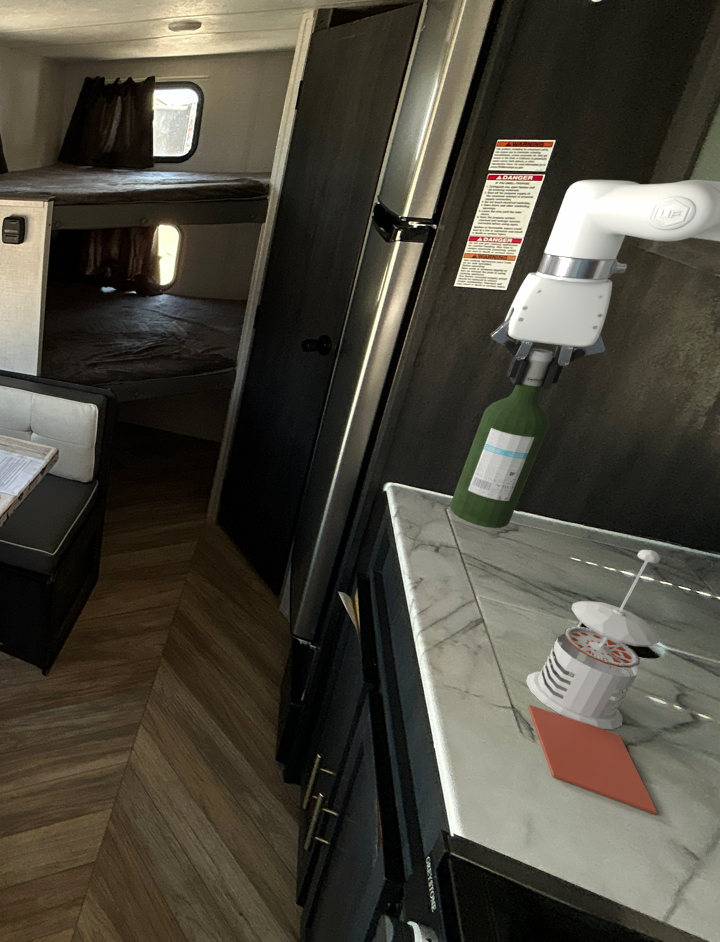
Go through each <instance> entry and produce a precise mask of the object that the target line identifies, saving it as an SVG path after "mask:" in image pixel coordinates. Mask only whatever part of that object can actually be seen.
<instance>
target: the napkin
mask: <svg viewBox="0 0 720 942" xmlns="http://www.w3.org/2000/svg"><path fill="white" fill-rule="evenodd" d="M528 709H529V713H530V716H531V719H532V722H533V724H534V727H535V731H536V733H537V736H538V738H539V739H538V740H539V741H540V744H541V748H542V750H543V753H544V756H545V759H546V762H547V764H548V767H549V770H550V774H551V777H553V778H555V779H558V780H561V781H563V782H566V783H569V784H571V785H574V786H577V787H579V788H582V789H585V790H588V791H590V792H594V793H595V794H599V795H601V796H604V797H606V798H609V799H612V800H615V801H617V802H620V803H623V804H626V805H629V806H632V807H634V808H637V809H639V810H642V811H645V812H646V813H647V812H648V813H650V814H653V815H657V814H658V811H657V809H656V807H655V804H654V802H653V801H652V798H651V797H650V795H649V792H648V790H647V788H646V786H645V784H644V782H643V779H642V778H641V776H640V774H639V771H638V770H637V768H636V766H635V763H634V761H633V760H632V757H631V755H630V753H629V752H628V749H627V747H626V745H625V743H624V741H623V738H622V736H621V735H620V734H619V733H615V732H612V731H610V730H608V729H601V728H598V727H595V726H592V725H589V724H586V723H583V722H580V721H577V720H574V719H571V718H568V717H565V716H563V715H560V714H559V713H556V712H553V711H550V710H547V709H543V708H540V707H537V706H534V705H532V704H528Z"/></svg>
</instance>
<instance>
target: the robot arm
mask: <svg viewBox="0 0 720 942" xmlns="http://www.w3.org/2000/svg"><path fill="white" fill-rule="evenodd" d="M563 197H564V198H563V200H562V203H561V205H560V208H559V211H558V213H557V216H556V218H555V219H556V220H555V222H554V224H553V227H552V230H551V233H550V235H549V239H548V240H547V244H546V246H545V249H544V252H543V255H542V257H541V259H540V263H539V265H538V268H537V271H536V272H528V274H527V275H526V277H525V279H524V280H523V282H522V283H521V285H520V287H519V289H518V291H517V293H516V294H515V297H514V299H513V301H512V303H511V305H510V308H509V310H508V312H507V315H506V317H505V319H504V321H503V322H502V323H501V324H500V325H499V326H497V328H495V329H494V330H493V331H492V332H491V333H490V335H489V336H490V338H491V339H492V341H494V342H496V343H497V344H500V345H502V346H503V347H505V348H506V350H508V351H509V352H510V354H511V355H512V356H513V357H512V359H511V362H510V365H509V368H508V370H507V375H506V376H507V378H509V380H510V383H512V385H515V386H516V385H518V384H520V383H521V381H522V378H523V375H524V373H525V370H526V367H527V365H528V361H527V356H528V353H529V352H530V351H531V349H532V346H533V344H534V343H540V344H548V345H555V350H554V353H553V358H552V360H551V361H550V363H549V366H548V369H547V372H546V375H545V378H544V380H543V383H542V386H541V388H543V389H544V390H549V391H550V389H551V387H552V384H557V383H558V381H559V379H560V376H561V373H562V371H563V368H564V367H565V366H567V365H569V364H570V363H572V362H574V361H576V360H578V359H580V358H582V357H584V356H592V355H596V354H601V353H603V352H606V351H605V350H606V347H605V343H604V341H603V337H602V334H601V333H602V329H603V327H604V324H605V320H606V318H607V313H608V310H609V305H610V302H611V296H612V291H613V281H612V280H611V279H608V278H611V276H612V275H613V274H624V273H625V272H626V270H627V267H628V264H627V263H621V262H618V259H617V256H618V254H619V251H620V249H621V247H622V244H623V242H624V239H625V237H626V236H629V237H633V238H639V239H643V240H649V241H655V242H677V241H683V240H687V239H690V238H691V239H698V240H699V239H700V240H707V241H714V242H720V181H719V180H718V181H716V180H707V179H705V180H704V179H688V180H681V181H677V182H666V183H665V182H664V183H647V184H642V183H641V184H640V183H639V182H636V181H632V180H631V181H630V180H619V179H617V180H615V179H583V180H578V181H576V182H574V183H572V184H571V185H569V187H568V189H567V190H566V192H565V194H564V196H563ZM507 335H508V336H509V337H510V338H509V337H508V336H507ZM513 339H514V340H516V342H515V341H514V340H513Z"/></svg>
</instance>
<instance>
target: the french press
mask: <svg viewBox="0 0 720 942" xmlns="http://www.w3.org/2000/svg"><path fill="white" fill-rule="evenodd" d="M636 557H638V558H639V559H640V560H642V561H644V562H643V563H642V566H641V568H639V569H640V570H639V571H638V573H637V575H636V577H635V578H634V581H633V582H632V584H631V586H630V588H629V590H628V592H627V594H626V596H625V598H624V600H623V601H622V603H621V605H620V607H619V606H615V605H612V604H609V603H606V602H600V601H592V600H591V601H590V600H589V601H587V600H580V601H576V602H573V603H572V604H571V610H572V613H573V614H574V615H575V617H576V618H577V620H578V621H579V623H578V624H577V626H570V627H568V628H566V629H565V631H564V633H563V634H561V635H560V636H558V637H557V638H556V640H555V642H554V646H552V648H551V650H550V652H549V654H548V656H547V660H546V661H545V662H544V664H543V666H542V668H541V670H540V671H535V672H531V673H529V674H528V675H527V677H526V680H525V683H526V684H527V686H528V688H529V691H530V692H531V693H532V694H533V695H534V696H535V697H536V698H537V699H538V700H539V701H540V702H541V703H542V704H543V705H545V706H546V707H548V708H549V709H551V710H552V711H554V712H555V713H556V714H558V715H562V716H565V717H568V718H571V719H574V720H577V721H580V722H583V723H586V724H589V725H592V726H595V727H598V728H601V729H604V730H616V729H617V728H619V727H621V726H623V715H622V714H621V712H620V710H619V707H620V706H621V704H622V702H623V700H624V698H625V697H626V695H627V693H628V691H630V688H631V686H632V685H633V683H634V681H635V680H636V678H637V676H638V672H639V670H640V669H639V667H638V666H639V665H640V660H641V658H640V657H639V655H638V654H637V653H636V651H634V649H632V648H631V647H629V646H633V647H643V648H644V647H645V648H648V647H651V646H653V645H656V644H659V643H660V635H659V634H658V633H657V632H656V630H655V629H654V628H653V627H652V626H651V625H649V624H648V623H647V622H646V621H645V620H643V619H642V618H640V617H638V615H635V614H634V613H633V612H631V611H628V610H626V609H624V607H625V606H626V603H627V601H628V599H629V598H630V596H631V595H632V592H633V591H634V590H635V589H634V588H635V586H636V585H637V584H638V582H639V579H640V578H641V575H642V574H643V572H644V570H645V568H646V567H647V565H648V563H650V564H659V563H660V561H661V560H662V559H661V556H660V555H659V554H658V553H657V551H655V550H652V549H641V550H639V551H638V553H637V555H636ZM581 625H584V626H585V627H584V626H583V627H582V626H581ZM560 643H561V644H560ZM580 653H582V654H584V655H585V658H584V660H583V662H581V661H580V660H577V658H578V656H579V655H580ZM626 668H627V669H628V668H629V669H631V672H632V674H633V675H632V674H631V672H630V671H629V670H627V669H626ZM611 669H615V670H617V671H619V672H621V673H622V674H623V675H625V676H621V675H620V674H618V673H616V672H615V671H612V670H611ZM570 673H571V674H573V675H574V676H573V675H570ZM616 690H618V691H619V692H616Z"/></svg>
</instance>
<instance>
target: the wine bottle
mask: <svg viewBox="0 0 720 942" xmlns="http://www.w3.org/2000/svg"><path fill="white" fill-rule="evenodd" d="M553 357H554V353H553V351H551V350H548V349H545V348H531V349H530V350H529V352H528V354H527V359H526V360H527V361H528V365H527V367H526V370H525V373H524V375H523V378H522V381H521V383H520V384H518V385H515V386H514V388H513V390H512V393H511V394H510V395H508V397H504V398H501V399H499V400H497V401H494V402H491V404H490V405H489V406H487V407H486V408H485V410H484V411H483V414H482V416H481V419H480V422H479V425H478V427H477V430H476V432H475V435H474V439H473V441H472V443H471V444H472V445H471V447H470V448H469V452H468V455H467V457H466V459H465V462H464V466H463V468H462V471H461V475H460V476H459V479H458V482H457V484H456V488H455V490H454V493H453V496H452V499H451V502H450V504H449V507H450V511H451V512H452V514H454V515H455V516H456V517H458V518H459V519H461V520H463V521H466V522H468V523H471V524H473V525H476V526H480V527H484V528H490V529H491V528H492V529H502V528H505V527H507V526H508V525H509V524H510V522H511V519H512V517H513V514H514V512H515V509H516V507H517V505H518V502H519V500H520V498H521V496H522V493H523V491H524V488H525V486H526V483H527V481H528V477H529V476H530V473H531V471H532V469H533V466H534V464H535V461H536V459H537V456H538V454H539V452H540V449H541V447H542V445H543V442H544V439H545V437H546V435H547V432H548V431H549V430H548V429H549V427H550V422H551V421H550V417H549V415H548V413H547V412H546V411H545V408H543V407H542V406H541V404H539V395H540V392H541V390H542V383H543V380H544V378H545V375H546V372H547V369H548V366H549V363H550V361H551V360H552V358H553Z"/></svg>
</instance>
